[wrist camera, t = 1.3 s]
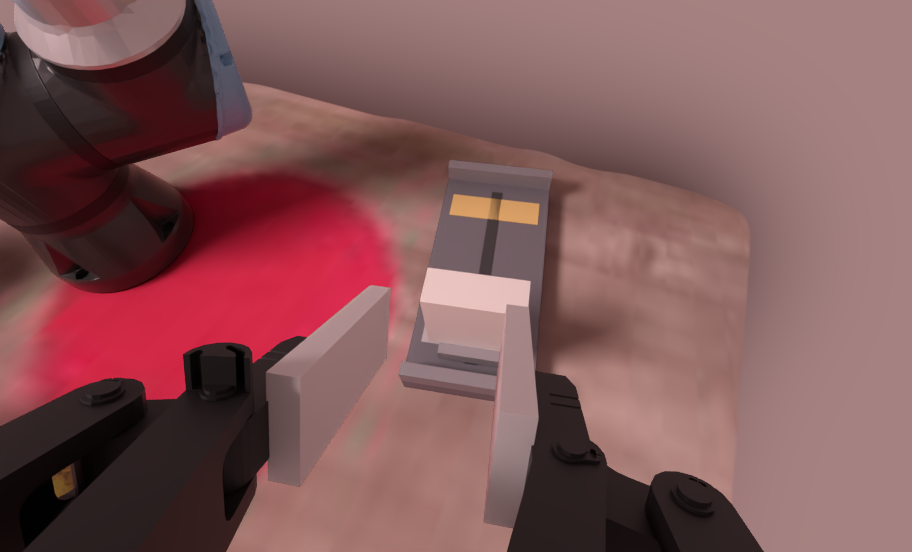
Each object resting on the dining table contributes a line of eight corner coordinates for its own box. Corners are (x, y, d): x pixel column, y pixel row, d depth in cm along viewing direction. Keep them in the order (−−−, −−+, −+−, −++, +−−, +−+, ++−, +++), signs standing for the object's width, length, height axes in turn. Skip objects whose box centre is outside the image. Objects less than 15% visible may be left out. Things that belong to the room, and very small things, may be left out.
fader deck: (530, 407, 39) (536, 396, 36) (404, 386, 40) (398, 374, 37) (547, 193, 52) (552, 170, 48) (451, 183, 53) (449, 159, 50)
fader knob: (513, 369, 38) (526, 329, 30) (427, 356, 39) (416, 313, 31) (518, 319, 41) (531, 269, 33) (438, 308, 42) (430, 256, 33)
